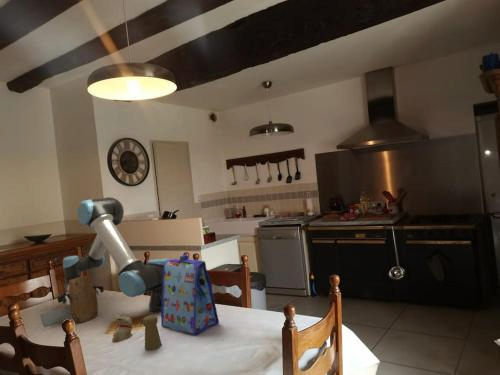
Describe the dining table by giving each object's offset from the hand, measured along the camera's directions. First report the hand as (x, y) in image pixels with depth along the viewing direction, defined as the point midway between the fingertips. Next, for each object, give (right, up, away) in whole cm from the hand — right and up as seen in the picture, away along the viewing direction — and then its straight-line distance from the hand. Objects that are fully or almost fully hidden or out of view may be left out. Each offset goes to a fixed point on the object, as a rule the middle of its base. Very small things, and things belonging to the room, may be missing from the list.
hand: (84, 297), depth 169 cm
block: (-1, -11, +3) cm, 12 cm away
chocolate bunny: (+26, -9, -25) cm, 37 cm away
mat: (-18, -13, +13) cm, 26 cm away
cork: (+41, -7, -36) cm, 55 cm away
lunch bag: (+52, -6, -20) cm, 56 cm away
